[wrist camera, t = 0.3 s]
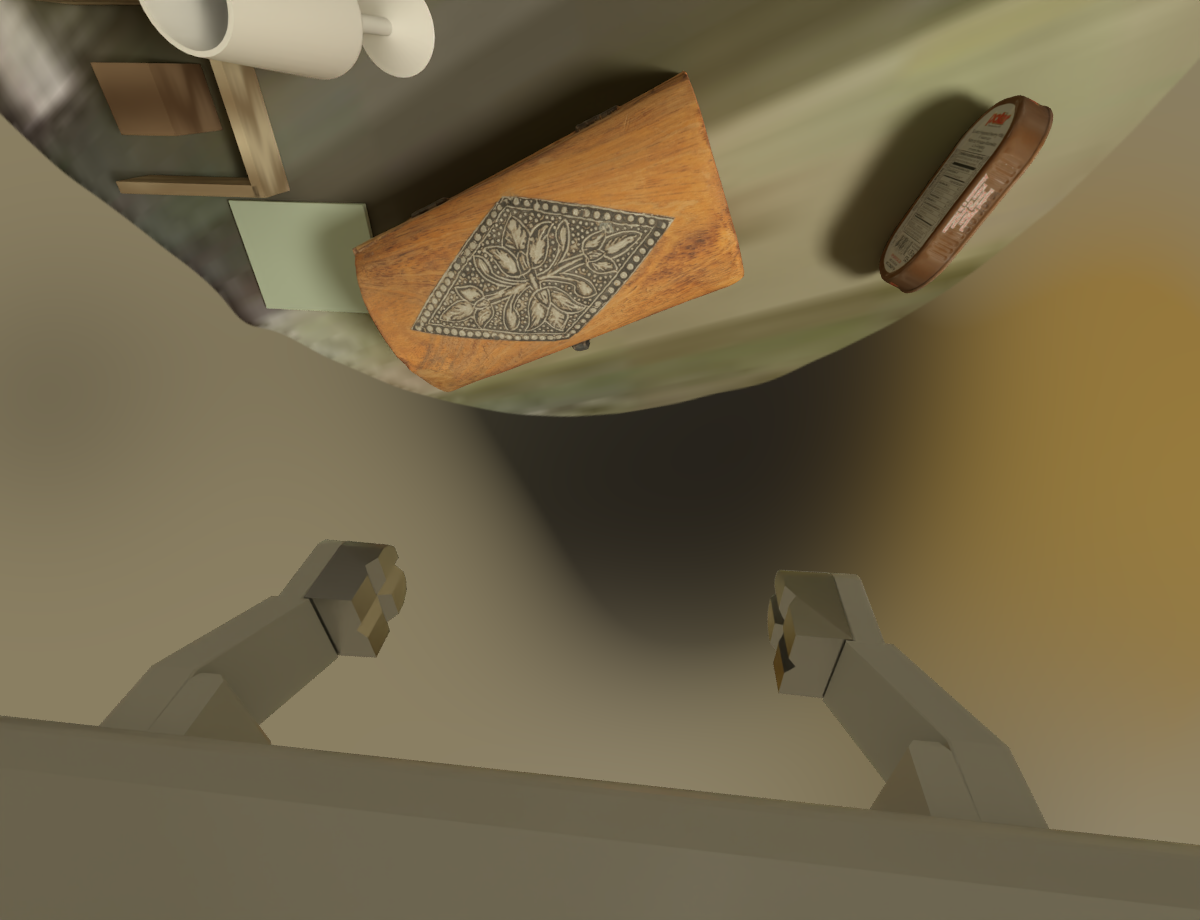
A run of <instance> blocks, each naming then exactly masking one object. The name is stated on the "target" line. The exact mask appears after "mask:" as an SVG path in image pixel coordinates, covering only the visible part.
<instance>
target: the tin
mask: <svg viewBox="0 0 1200 920" xmlns="http://www.w3.org/2000/svg"><path fill="white" fill-rule="evenodd" d="M1052 122H1053V113H1052V110H1051V109H1050V108H1049V107H1047V106H1042V105H1040V104H1038V103H1036V102H1035V101H1033V100H1031V99H1029V98H1027V97H1025V96H1021V95H1018V96H1013V97H1010V98H1007V99H1004V100H1002V101H1000V102H998V103H997V104H995V105H994V106H992V107H991V108H990V109H989V110H988V111H986V112H985V113H984V114H983V115H982V116H981V117H980V118H979V119H978V120H977V121H976V122H975V123H974V124H973V125H972V126H971V127H970V128H969V130H968V131H967V132H966V133H965V134H964V135H963V137H962V138H961V139H960V141H959V142H958V143H957V145H956V146H955V147H954V149H953V150H952V151H951V153H950V154H949V155H948V157H947V158H946V160H945V161H944V162H943V164H942V165H941V166H940V168H939V169H938V170H937V172H936V173H935V175H934V176H933V177H932V179H931V180H930V181H929V183H928V184H927V186H926V187H925V188H924V190H923V191H922V192H921V194H920V195H919V197H918V198H917V199H916V201H915V202H914V204H913V205H912V206H911V208H910V209H909V210H908V212H907V213H906V215H905V216H904V218H903V219H902V220H901V222H900V223H899V225H898V226H897V228H896V229H895V231H894V232H893V234H892V235H891V237H890V239H889V241H888V242H887V244H886V246H885V249H884V251H883V253H882V256H881V259H880V264H879V271H880V274H881V277H882V279H883V280H884V281H886V282H887V283H889V284H891V285H893V286H895V287H897V288H899V289H900V290H901V291H902V292H904V293H912V292H915V291H917V290H920V289H921V288H923V287H924V286H926V285H927V284H929V283H930V282H931V281H933V280H934V279H935V278H936V277H937V276H938V275H939V274H940V273H941V272H942V271H943V270H944V269H945V268H946V267H947V266H948V265H949V264H950V263H951V261H952V260H953V259H954V258H955V257H956V255H957V254H958V253H959V252H960V250H961V249H962V248H963V247H964V245H965V244H966V243H967V242H968V241H969V239H970V238H971V237H972V236H973V234H974V233H975V232H976V231H977V229H978V228H979V227H980V226H981V225H982V223H983V222H984V221H985V220H986V218H987V217H988V216H989V215H990V213H991V212H992V211H993V210H994V209H995V207H996V206H997V205H998V204H999V202H1000V201H1001V200H1002V199H1003V198H1004V196H1005V195H1006V194H1007V193H1008V191H1009V190H1010V189H1011V188H1012V187H1013V185H1014V184H1015V183H1016V182H1017V180H1018V179H1019V178H1020V177H1021V176H1022V175H1023V173H1024V172H1025V171H1026V169H1027V168H1028V167H1029V166H1030V164H1031V163H1032V162H1033V160H1034V159H1035V157H1036V156H1037V154H1038V153H1039V151H1040V149H1041V148H1042V146H1043V144H1044V142H1045V140H1046V138H1047V136H1048V134H1049V131H1050V129H1051V126H1052Z"/></svg>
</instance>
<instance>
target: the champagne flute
mask: <svg viewBox="0 0 1200 920" xmlns="http://www.w3.org/2000/svg"><path fill="white" fill-rule="evenodd" d="M139 1H140V4H141V6H142V8H143V10H144V12H145V13H146V15H147V16H148V18H149V20H150V21H151V23H152V24H153V25H154V26H155V28H156V29H157V30H158V31H159V33H160V34H161V35H162V36H163V37H164V38H165V39H166V40H167V41H168V42H170V43H171V44H172V45H174V46H175V47H176V48H178V49H180V50H181V51H183V52H185V53H187V54H190V55H193V56H196V57H201V58H207V59H212V60H217V61H223V62H228V63H234V64H239V65H244V66H250V67H255V68H261V69H266V70H271V71H277V72H282V73H288V74H293V75H299V76H304V77H309V78H315V79H324V80H328V79H333V78H337V77H339V76H341V75H343V74H345V73H346V72H347V71H348V70H349V69H350V68H352V67H353V65H354V63H355V62H356V60H357V59H358V56H359V54H360V51H361V47H362V45H363V48H364V50H365V51H366V53H367V54H368V56H369V57H370V59H371V60H372V61H373V62H374V63H375V64H376V65H377V66H378V67H379V68H380V69H382V70H383V71H384V72H386V73H388V74H390V75H393V76H396V77H403V78H406V77H412V76H414V75H416V74H418V73H419V72H421V71H422V70H423V69H424V68H425V67H426V65H427V64H428V63H429V60H430V58H431V56H432V53H433V48H434V39H435V35H434V25H433V21H432V17H431V14H430V12H429V9H428V7H427V5H426V3H425V1H424V0H139Z"/></svg>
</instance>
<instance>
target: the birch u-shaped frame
mask: <svg viewBox="0 0 1200 920" xmlns="http://www.w3.org/2000/svg"><path fill="white" fill-rule="evenodd" d="M36 1H45V2H54V3H63V4H72V5H141V4H140V1H139V0H36ZM209 60H210V63H211V66H212V69H213V72H214V75H215V78H216V81H217V84H218V87H219V90H220V93H221V96H222V99H223V102H224V105H225V108H226V111H227V114H228V117H229V120H230V123H231V126H232V129H233V132H234V135H235V138H236V141H237V144H238V147H239V150H240V153H241V156H242V159H243V162H244V165H245V168H246V171H247V174H248V177H249V178H237V177H202V176H166V175H147V176H142V177H137V178H132V179H126V180H121V181H116V183H117V185H118V187H119V189H120V192H121V193H127V194H159V195H191V196H223V197H255V198H267V197H270V196H273V195H276V194H280V193H283V192H286V191H289V190H290V188H289V185H288V181H287V178H286V174H285V171H284V168H283V164H282V161H281V157H280V154H279V151H278V147H277V144H276V141H275V137H274V134H273V130H272V127H271V124H270V120H269V117H268V113H267V110H266V107H265V103H264V100H263V96H262V93H261V90H260V86H259V83H258V80H257V76H256V73H255V69H254V67H250V66H244V65H239V64H234V63H228V62H223V61H217V60H212V59H209Z"/></svg>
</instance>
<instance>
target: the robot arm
mask: <svg viewBox="0 0 1200 920" xmlns="http://www.w3.org/2000/svg"><path fill="white" fill-rule="evenodd" d="M398 558H399V557H398V554H397V552H396V549H395V547H394V546H391V545H385V544H374V543H363V542H352V541H337V540H324V541H322V542H320V543H319V544H318V545H317V546H316V547H315V549H314V550H313V551H312V553H311V554H310V555H309V557H308V558H307V559H306V561H305V562H304V563H303V565H302V566H301V567H300V568H299V570H298V571H297V573H296V574H295V575H294V576H293V578H292V579H291V580H290V582H289V583H288V584H287V586H286V587H285V588H284V589H283V591H282V592H281V593H280V595H279V596H271V597H269V598H268V599H266V600H264V601H262V602H261V603H259V604H257V605H255V606H254V607H252V608H250V609H249V610H247V611H245V612H243V613H242V614H240V615H238V616H237V617H235V618H233V619H231V620H230V621H228V622H226V623H225V624H223V625H221V626H219V627H218V628H216V629H214V630H212V631H211V632H209V633H207V634H206V635H204V636H202V637H200V638H199V639H197V640H195V641H193V642H192V643H190V644H188V645H187V646H185V647H183V648H181V649H180V650H178V651H176V652H175V653H173V654H171V655H169V656H168V657H166V658H164V659H163V660H161V661H159V662H157V663H156V664H154V665H152V666H151V668H149V670H148V671H147V672H146V673H145V674H144V675H143V676H142V678H141V679H140V680H139V681H138V682H137V683H136V684H135V686H134V687H133V688H132V689H131V690H130V691H129V692H128V693H127V695H126V696H125V697H124V698H123V699H122V700H121V701H120V703H119V704H118V705H117V706H116V707H115V708H114V709H113V711H112V712H111V713H110V714H109V715H108V716H107V717H106V719H105V720H104V721H103V722H102V723H101V724H100V725H99V726H92V725H83V724H73V723H65V722H55V721H46V720H37V719H28V718H18V717H10V716H0V920H1200V845H1195V844H1186V843H1175V842H1167V841H1158V840H1148V839H1139V838H1130V837H1120V836H1110V835H1102V834H1092V833H1083V832H1074V831H1065V830H1056V829H1049V828H1048V826H1047V824H1046V821H1045V820H1044V817H1043V815H1042V814H1041V811H1040V810H1039V807H1038V805H1037V803H1036V801H1035V799H1034V797H1033V795H1032V793H1031V791H1030V789H1029V787H1028V785H1027V783H1026V781H1025V779H1024V777H1023V775H1022V773H1021V771H1020V769H1019V767H1018V765H1017V763H1016V761H1015V759H1014V757H1013V755H1012V753H1011V751H1010V749H1009V747H1008V746H1007V745H1006V744H1005V743H1003V742H1002V741H1001V740H1000V739H999V738H998V737H997V736H996V735H994V734H993V733H992V732H991V731H990V730H989V729H988V728H987V727H985V726H984V725H983V724H982V723H981V722H980V721H979V720H978V719H976V718H975V717H974V716H973V715H972V714H971V713H970V712H968V711H967V710H966V709H965V708H964V707H963V706H962V705H961V704H959V703H958V702H957V701H956V700H955V699H954V698H952V696H950V695H949V694H948V693H947V692H946V691H945V690H944V689H943V688H942V687H940V686H939V685H938V684H937V683H936V682H935V681H934V680H933V679H931V678H930V677H929V676H928V675H927V674H926V673H925V672H924V671H922V670H921V669H920V668H919V667H918V666H917V665H916V664H915V663H913V662H912V661H911V660H910V659H909V658H908V657H907V656H905V655H904V654H903V653H902V652H901V651H900V650H899V649H898V648H896V647H895V646H894V645H893V644H885V643H884V640H883V637H882V635H881V632H880V629H879V627H878V624H877V621H876V619H875V616H874V614H873V611H872V608H871V605H870V603H869V600H868V598H867V595H866V592H865V590H864V587H863V584H862V581H861V579H860V578H859V577H858V576H857V575H856V574H840V573H839V574H838V573H830V574H829V573H824V572H806V571H786V570H779V571H778V572H777V574H776V577H775V581H774V585H775V591H776V594H775V595H773V596H772V597H771V598H770V602H769V607H768V620H767V623H768V634H769V641H770V644H771V645H772V646H773V647H774V648H775V649H776V654H775V658H774V661H773V665H774V671H775V676H776V682H777V687H778V693H783V694H791V695H800V696H809V697H818V698H823V701H824V703H825V704H826V705H827V707H828V708H829V709H830V710H831V712H832V713H833V714H834V716H835V717H836V718H837V720H838V721H839V722H840V723H841V725H842V726H843V727H844V729H845V730H846V731H847V733H848V734H849V735H850V736H851V738H852V739H853V740H854V742H855V743H856V744H857V745H858V747H859V748H860V749H861V751H862V752H863V753H864V755H865V756H866V757H867V758H868V760H869V761H870V762H871V764H872V765H873V766H874V768H875V769H876V770H877V772H878V773H879V774H880V775H881V777H882V778H883V779H884V781H885V782H886V784H885V785H884V787H883V789H882V790H881V792H880V794H879V795H878V797H877V798H876V800H875V801H874V803H873V805H872V806H871V808H870V809H860V808H851V807H842V806H833V805H823V804H814V803H805V802H796V801H786V800H777V799H767V798H758V797H749V796H739V795H731V794H721V793H712V792H702V791H694V790H684V789H675V788H666V787H657V786H648V785H637V784H629V783H619V782H610V781H602V780H591V779H583V778H574V777H565V776H564V777H563V776H556V775H546V774H537V773H528V772H518V771H508V770H500V769H490V768H481V767H471V766H462V765H452V764H443V763H433V762H425V761H415V760H406V759H397V758H388V757H379V756H369V755H360V754H351V753H341V752H332V751H323V750H313V749H304V748H295V747H285V746H277V745H271V741H270V739H269V738H268V737H267V735H266V734H265V733H264V732H263V730H262V729H261V727H260V726H259V725H260V724H261V723H262V722H263V721H264V720H266V719H267V718H268V717H269V716H270V715H271V714H273V713H274V712H275V711H276V710H277V709H278V708H279V707H281V706H282V705H283V704H284V703H286V702H287V701H288V700H289V699H290V698H291V697H293V696H294V695H295V694H296V693H297V692H298V691H300V690H301V689H302V688H303V687H304V686H305V685H307V684H308V683H309V682H310V681H311V680H312V679H314V678H315V677H316V676H317V675H318V674H319V673H321V672H322V671H323V670H324V669H325V668H326V667H328V666H329V665H330V664H331V663H332V662H333V661H335V660H336V659H337V658H338V655H344V656H360V657H361V656H362V657H377V655H378V653H379V651H380V649H381V647H382V645H383V643H384V641H385V639H386V637H387V636H388V633H389V632H390V630H389V626H388V623H387V622H388V621H389V620H391V619H392V618H393V617H395V616H396V615H397V614H399V612H400V610H401V608H402V606H403V603H404V600H405V595H406V590H407V588H406V578H405V575H404V572H403V571H402V570H401V569H400V568H399V567H397V566H396V565H395V563H396V561H397V559H398Z"/></svg>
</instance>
